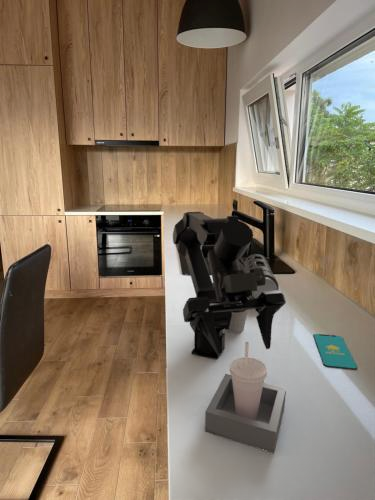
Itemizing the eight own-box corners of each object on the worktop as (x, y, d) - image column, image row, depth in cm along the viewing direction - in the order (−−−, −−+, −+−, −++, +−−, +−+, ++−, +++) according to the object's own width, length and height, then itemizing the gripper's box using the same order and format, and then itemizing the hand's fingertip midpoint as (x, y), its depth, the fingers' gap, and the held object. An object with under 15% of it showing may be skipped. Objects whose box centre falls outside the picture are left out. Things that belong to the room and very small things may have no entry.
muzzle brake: (267, 278, 136) (269, 253, 134) (278, 307, 109) (280, 276, 107) (243, 278, 137) (244, 252, 134) (248, 306, 110) (249, 275, 107)
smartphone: (324, 364, 77) (312, 332, 92) (323, 368, 78) (312, 335, 92) (358, 368, 76) (341, 335, 91) (358, 372, 76) (341, 338, 91)
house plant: (273, 326, 97) (277, 270, 93) (253, 347, 86) (256, 285, 81) (228, 313, 104) (229, 261, 100) (203, 331, 93) (204, 274, 89)
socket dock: (205, 431, 59) (205, 411, 58) (225, 391, 69) (225, 373, 68) (274, 453, 54) (276, 432, 53) (284, 406, 65) (286, 388, 64)
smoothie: (247, 398, 66) (249, 331, 63) (272, 418, 61) (276, 346, 57) (221, 411, 63) (222, 341, 59) (245, 433, 57) (248, 358, 54)
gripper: (186, 255, 60) (202, 345, 52) (285, 249, 64) (313, 332, 56) (177, 282, 69) (190, 362, 62) (263, 276, 73) (285, 350, 66)
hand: (244, 351), depth 61 cm, fingers open, 9 cm apart
